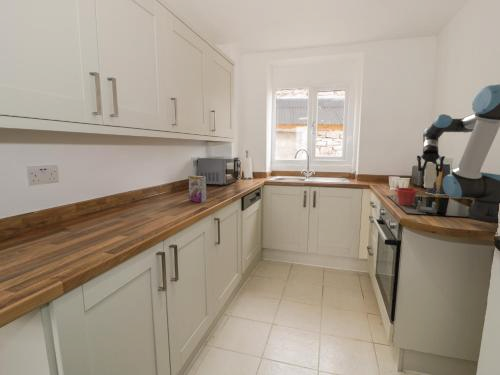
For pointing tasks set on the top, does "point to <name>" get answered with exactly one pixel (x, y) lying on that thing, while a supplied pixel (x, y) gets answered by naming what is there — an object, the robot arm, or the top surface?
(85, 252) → the top surface
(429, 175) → the white tall block
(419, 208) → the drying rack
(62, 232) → the top surface
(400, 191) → the flower pot
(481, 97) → the robot arm
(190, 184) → the candy bar box
